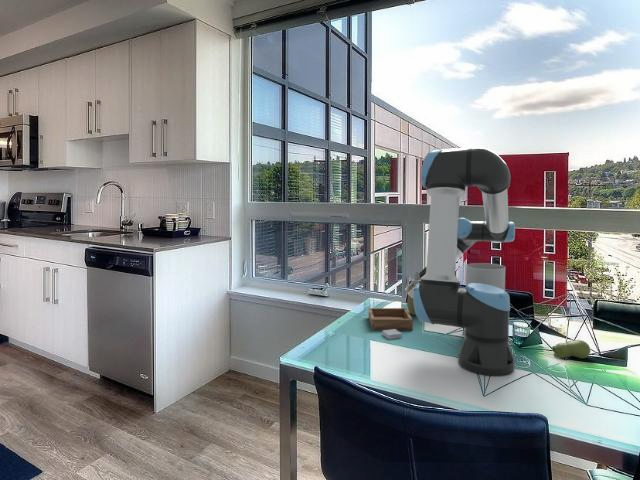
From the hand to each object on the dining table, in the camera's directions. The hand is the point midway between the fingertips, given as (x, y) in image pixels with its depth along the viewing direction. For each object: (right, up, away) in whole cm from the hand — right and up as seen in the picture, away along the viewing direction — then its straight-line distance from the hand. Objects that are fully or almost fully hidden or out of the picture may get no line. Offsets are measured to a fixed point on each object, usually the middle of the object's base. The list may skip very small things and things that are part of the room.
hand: (408, 293), depth 168 cm
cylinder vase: (+21, -12, -27) cm, 36 cm away
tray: (-10, -10, -12) cm, 18 cm away
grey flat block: (-11, -12, -25) cm, 30 cm away
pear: (+40, -13, -45) cm, 62 cm away
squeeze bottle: (+4, -9, +1) cm, 9 cm away
